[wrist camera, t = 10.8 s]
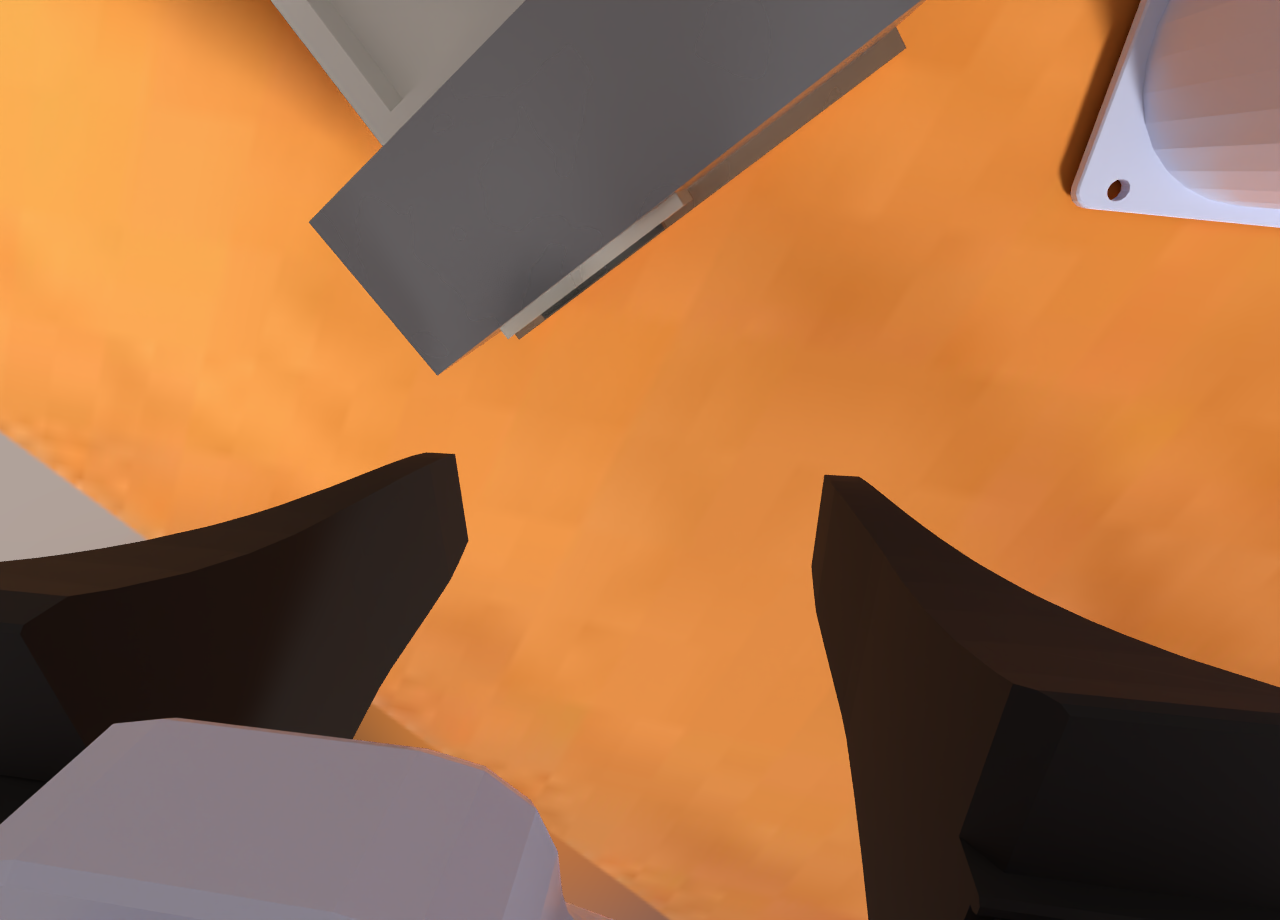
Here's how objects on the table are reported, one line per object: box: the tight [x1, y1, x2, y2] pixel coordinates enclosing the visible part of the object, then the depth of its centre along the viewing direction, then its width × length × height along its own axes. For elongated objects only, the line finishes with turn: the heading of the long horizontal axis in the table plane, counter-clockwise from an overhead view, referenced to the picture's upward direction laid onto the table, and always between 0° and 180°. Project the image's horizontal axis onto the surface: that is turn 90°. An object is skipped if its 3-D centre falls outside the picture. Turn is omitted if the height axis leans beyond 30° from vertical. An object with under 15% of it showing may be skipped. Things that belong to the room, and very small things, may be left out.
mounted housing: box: [309, 0, 925, 375], centre depth 14 cm, size 13×5×7 cm, turn 126°
